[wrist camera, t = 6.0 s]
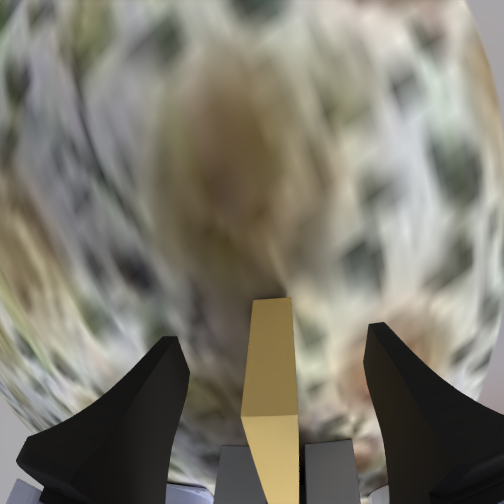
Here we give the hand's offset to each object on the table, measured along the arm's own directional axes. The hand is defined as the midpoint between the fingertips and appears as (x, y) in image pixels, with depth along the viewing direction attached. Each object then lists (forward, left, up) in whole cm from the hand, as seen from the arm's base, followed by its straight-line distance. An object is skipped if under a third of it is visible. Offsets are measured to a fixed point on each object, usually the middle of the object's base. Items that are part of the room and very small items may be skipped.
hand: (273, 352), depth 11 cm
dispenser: (0, -16, -2) cm, 17 cm away
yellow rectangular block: (0, -4, -2) cm, 4 cm away
